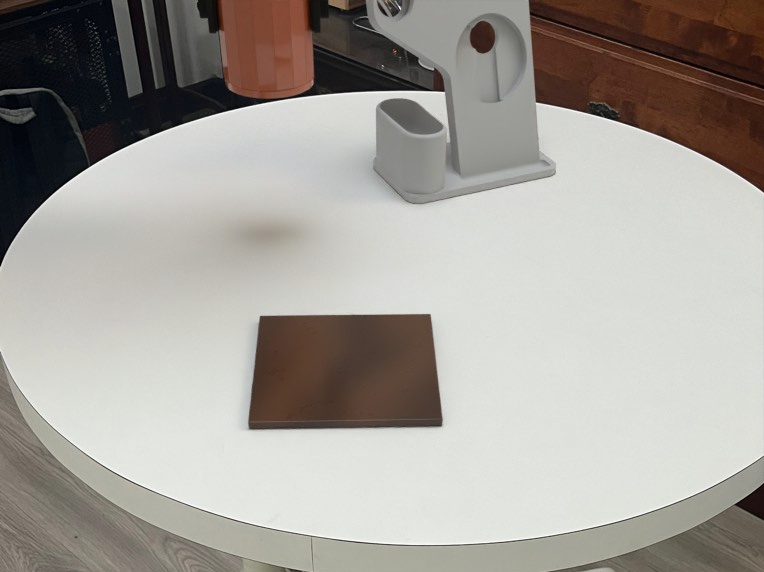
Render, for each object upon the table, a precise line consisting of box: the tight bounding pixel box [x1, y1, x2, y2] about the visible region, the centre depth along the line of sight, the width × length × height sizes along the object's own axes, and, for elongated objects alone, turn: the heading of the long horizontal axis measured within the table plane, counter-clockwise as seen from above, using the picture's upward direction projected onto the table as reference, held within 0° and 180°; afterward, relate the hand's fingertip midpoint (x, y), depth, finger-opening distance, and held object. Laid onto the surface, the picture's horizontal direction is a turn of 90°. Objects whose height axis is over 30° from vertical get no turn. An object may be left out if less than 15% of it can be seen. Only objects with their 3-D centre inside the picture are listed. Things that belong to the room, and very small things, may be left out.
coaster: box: [247, 313, 444, 429], centre depth 77 cm, size 14×14×1 cm
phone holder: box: [365, 0, 557, 204], centre depth 96 cm, size 17×10×18 cm, turn 116°
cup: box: [216, 0, 315, 99], centre depth 80 cm, size 7×7×9 cm
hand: (265, 26), depth 80 cm, fingers closed on cup, 7 cm apart
